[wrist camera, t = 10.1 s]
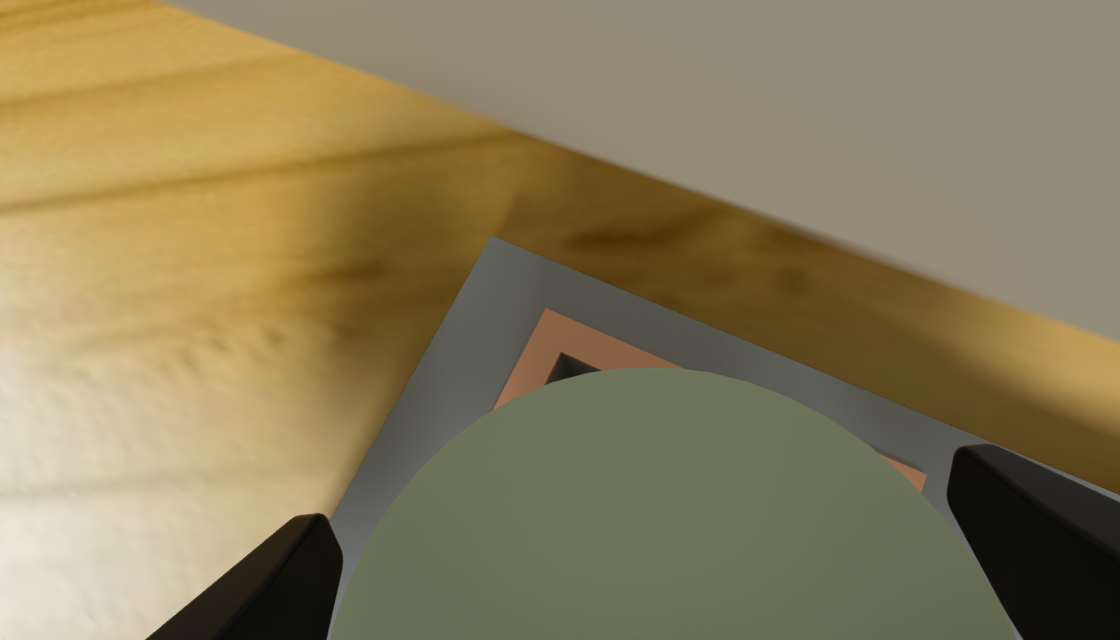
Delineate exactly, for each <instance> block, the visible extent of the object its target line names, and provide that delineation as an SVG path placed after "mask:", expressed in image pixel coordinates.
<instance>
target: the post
mask: <svg viewBox="0 0 1120 640" xmlns="http://www.w3.org/2000/svg"><path fill="white" fill-rule="evenodd" d="M330 640H1017V638H1016V636H1015V634H1014V632H1013V629H1012V627H1011V625H1010V623H1009V621H1008V618H1007V616H1006V614H1005V612H1004V610H1003V607H1002V605H1001V603H1000V602H999V600H998V598H997V597H996V595H995V593H994V592H993V590H992V588H991V587H990V585H989V583H988V582H987V580H986V578H985V576H984V575H983V573H982V571H981V570H980V568H979V566H978V565H977V563H976V561H975V560H974V558H973V556H972V555H971V554H970V552H969V551H968V550H967V548H966V547H965V546H964V544H963V543H962V542H961V540H960V539H959V538H958V536H957V535H956V534H955V532H954V531H953V530H952V528H951V527H950V526H949V524H948V523H947V522H946V520H945V519H944V518H943V516H942V515H941V514H940V513H939V512H938V511H937V510H936V509H935V507H934V506H933V505H932V504H931V503H930V502H929V501H928V500H927V499H926V498H925V497H924V496H923V495H922V494H921V493H920V491H919V490H918V489H917V488H916V487H915V486H914V485H913V484H912V483H911V482H910V481H909V480H908V479H907V478H906V477H905V476H904V475H903V474H902V473H901V472H900V471H898V470H897V469H896V468H895V467H894V466H893V465H891V464H890V463H889V462H888V461H887V460H886V459H884V458H883V457H882V456H881V455H880V454H879V453H877V452H876V451H875V450H874V449H873V448H872V447H870V446H869V445H868V444H866V443H865V442H864V441H862V440H861V439H859V438H858V437H856V436H855V435H853V434H852V433H850V432H849V431H847V430H846V429H844V428H843V427H841V426H840V425H838V424H837V423H836V422H834V421H833V420H831V419H830V418H828V417H826V416H824V415H822V414H820V413H818V412H816V411H814V410H812V409H810V408H809V407H807V406H805V405H803V404H801V403H799V402H797V401H795V400H793V399H791V398H789V397H787V396H784V395H781V394H779V393H776V392H774V391H771V390H768V389H766V388H763V387H760V386H758V385H755V384H753V383H750V382H746V381H742V380H738V379H734V378H730V377H726V376H722V375H718V374H714V373H710V372H704V371H696V370H687V369H679V368H671V367H627V368H620V369H612V370H605V371H597V372H590V373H586V374H582V375H578V376H575V377H571V378H567V379H563V380H560V381H556V382H552V383H550V384H547V385H545V386H542V387H540V388H537V389H535V390H532V391H530V392H527V393H525V394H523V395H520V396H518V397H515V398H514V399H512V400H510V401H508V402H507V403H505V404H503V405H501V406H500V407H498V408H496V409H494V410H492V411H491V412H489V413H487V414H485V415H484V416H482V417H480V418H479V419H478V420H476V421H475V422H474V423H472V424H471V425H470V426H468V427H467V428H466V429H464V430H463V431H462V432H460V433H459V434H458V435H456V436H455V437H454V438H452V439H451V440H450V441H449V442H448V443H447V444H445V445H444V446H443V447H442V448H441V449H440V450H439V451H438V452H437V453H436V454H435V455H434V456H433V457H432V458H431V459H430V460H429V461H428V462H427V463H426V464H425V465H423V466H422V467H421V468H420V470H419V471H418V472H417V473H416V474H415V476H414V477H413V478H412V479H411V480H410V482H409V483H408V484H407V485H406V487H405V488H404V489H403V490H402V491H401V493H400V494H399V495H398V496H397V497H396V499H395V500H394V501H393V503H392V504H391V506H390V507H389V509H388V510H387V512H386V514H385V515H384V517H383V518H382V520H381V521H380V523H379V524H378V526H377V528H376V529H375V531H374V532H373V534H372V535H371V537H370V539H369V541H368V543H367V545H366V547H365V549H364V551H363V553H362V555H361V557H360V559H359V561H358V563H357V565H356V567H355V569H354V571H353V573H352V575H351V577H350V580H349V583H348V585H347V588H346V591H345V594H344V596H343V599H342V602H341V605H340V607H339V610H338V613H337V616H336V618H335V621H334V625H333V629H332V633H331V637H330Z"/></svg>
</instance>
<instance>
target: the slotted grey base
mask: <svg viewBox="0 0 1120 640" xmlns="http://www.w3.org/2000/svg"><path fill="white" fill-rule="evenodd" d="M627 367H671V368H679V369H687V370H696V371H704V372H710V373H714V374H718V375H722V376H726V377H730V378H734V379H738V380H742V381H746V382H750V383H753V384H755V385H758V386H760V387H763V388H766V389H768V390H771V391H774V392H776V393H779V394H781V395H784V396H787V397H789V398H791V399H793V400H795V401H797V402H799V403H801V404H803V405H805V406H807V407H809V408H810V409H812V410H814V411H816V412H818V413H820V414H822V415H824V416H826V417H828V418H830V419H831V420H833V421H834V422H836V423H837V424H838V425H840V426H841V427H843V428H844V429H846V430H847V431H849V432H850V433H852V434H853V435H855V436H856V437H858V438H859V439H861V440H862V441H864V442H865V443H866V444H868V445H869V446H870V447H872V448H873V449H874V450H875V451H876V452H877V453H879V454H880V455H881V456H882V457H883V458H884V459H886V460H887V461H888V462H889V463H890V464H891V465H893V466H894V467H895V468H896V469H897V470H898V471H900V472H901V473H902V474H903V475H904V476H905V477H906V478H907V479H908V480H909V481H910V482H911V483H912V484H913V485H914V486H915V487H916V488H917V489H918V490H919V491H920V493H921V494H922V495H923V496H924V497H925V498H926V499H927V500H928V501H929V502H930V503H931V504H932V505H933V506H934V507H935V509H936V510H937V511H938V512H939V513H940V514H941V515H942V516H943V518H944V519H945V520H946V522H947V523H948V524H949V526H950V527H951V528H952V530H953V531H954V532H955V534H956V535H957V536H958V538H959V539H960V540H961V542H962V543H963V544H964V546H965V547H966V548H967V550H968V551H969V552H970V554H971V555H972V556H973V558H974V560H975V561H976V563H977V565H978V566H979V568H980V570H981V571H982V573H983V575H984V576H985V578H986V580H987V582H988V583H989V581H988V579H987V577H986V575H985V573H984V571H983V570H982V568H981V566H980V564H979V562H978V560H977V558H976V557H975V555H974V553H973V551H972V549H971V547H970V545H969V543H968V542H967V540H966V538H965V536H964V534H963V532H962V530H961V529H960V527H959V525H958V523H957V521H956V519H955V517H954V515H953V514H952V512H951V510H950V507H949V505H948V501H947V485H948V480H949V475H950V470H951V465H952V459H953V455H954V452H955V451H956V449H957V448H958V447H961V446H965V445H975V444H985V443H987V444H994V445H996V446H999V447H1001V448H1003V449H1006V450H1008V451H1010V452H1012V453H1014V454H1017V455H1019V456H1021V457H1023V458H1025V459H1027V460H1030V461H1032V462H1034V463H1036V464H1038V465H1041V466H1043V467H1045V468H1047V469H1049V470H1051V471H1054V472H1056V473H1058V474H1060V475H1062V476H1065V477H1067V478H1069V479H1071V480H1073V481H1076V482H1078V483H1080V484H1082V485H1084V486H1086V487H1089V488H1091V489H1093V490H1095V491H1097V492H1100V493H1102V494H1104V495H1106V496H1108V497H1110V498H1113V499H1115V500H1117V501H1119V502H1120V495H1118V494H1116V493H1113V492H1111V491H1108V490H1106V489H1104V488H1101V487H1099V486H1096V485H1094V484H1092V483H1089V482H1087V481H1084V480H1082V479H1079V478H1077V477H1075V476H1072V475H1070V474H1067V473H1065V472H1063V471H1060V470H1058V469H1055V468H1053V467H1050V466H1048V465H1046V464H1043V463H1041V462H1038V461H1036V460H1033V459H1031V458H1029V457H1026V456H1024V455H1021V454H1019V453H1017V452H1014V451H1012V450H1009V449H1007V448H1004V447H1002V446H1000V445H997V444H995V443H992V442H990V441H988V440H985V439H983V438H980V437H978V436H975V435H973V434H971V433H968V432H966V431H963V430H961V429H958V428H956V427H954V426H951V425H949V424H946V423H944V422H942V421H939V420H937V419H934V418H932V417H929V416H927V415H925V414H922V413H920V412H917V411H915V410H913V409H910V408H908V407H905V406H903V405H900V404H898V403H896V402H893V401H891V400H888V399H886V398H883V397H881V396H879V395H876V394H874V393H871V392H869V391H867V390H864V389H862V388H859V387H857V386H854V385H852V384H850V383H847V382H845V381H842V380H840V379H838V378H835V377H833V376H830V375H828V374H825V373H823V372H821V371H818V370H816V369H813V368H811V367H808V366H806V365H804V364H801V363H799V362H796V361H794V360H792V359H789V358H787V357H784V356H782V355H779V354H777V353H775V352H772V351H770V350H767V349H765V348H763V347H760V346H758V345H755V344H753V343H750V342H748V341H746V340H743V339H741V338H738V337H736V336H733V335H731V334H729V333H726V332H724V331H721V330H719V329H717V328H714V327H712V326H709V325H707V324H704V323H702V322H700V321H697V320H695V319H692V318H690V317H688V316H685V315H683V314H680V313H678V312H675V311H673V310H671V309H668V308H666V307H663V306H661V305H659V304H656V303H654V302H651V301H649V300H646V299H644V298H642V297H639V296H637V295H634V294H632V293H629V292H627V291H625V290H622V289H620V288H617V287H615V286H613V285H610V284H608V283H605V282H603V281H600V280H598V279H596V278H593V277H591V276H588V275H586V274H584V273H581V272H579V271H576V270H574V269H571V268H569V267H567V266H564V265H562V264H559V263H557V262H554V261H552V260H550V259H547V258H545V257H542V256H540V255H538V254H535V253H533V252H530V251H528V250H525V249H523V248H521V247H518V246H516V245H513V244H511V243H509V242H506V241H504V240H501V239H499V238H496V237H494V236H492V235H491V237H490V238H489V240H488V242H487V244H486V245H485V247H484V249H483V251H482V253H481V254H480V256H479V258H478V260H477V261H476V263H475V265H474V267H473V268H472V270H471V272H470V274H469V275H468V277H467V279H466V281H465V283H464V284H463V286H462V288H461V290H460V291H459V293H458V295H457V297H456V298H455V300H454V302H453V304H452V305H451V307H450V309H449V311H448V313H447V314H446V316H445V318H444V320H443V321H442V323H441V325H440V327H439V328H438V330H437V332H436V334H435V335H434V337H433V339H432V341H431V343H430V344H429V346H428V348H427V350H426V351H425V353H424V355H423V357H422V358H421V360H420V362H419V364H418V365H417V367H416V369H415V371H414V373H413V374H412V376H411V378H410V380H409V381H408V383H407V385H406V387H405V388H404V390H403V392H402V394H401V395H400V397H399V399H398V401H397V403H396V404H395V406H394V408H393V410H392V411H391V413H390V415H389V417H388V418H387V420H386V422H385V424H384V425H383V427H382V429H381V431H380V433H379V434H378V436H377V438H376V440H375V441H374V443H373V445H372V447H371V448H370V450H369V452H368V454H367V455H366V457H365V459H364V461H363V463H362V464H361V466H360V468H359V470H358V471H357V473H356V475H355V477H354V478H353V480H352V482H351V484H350V485H349V487H348V489H347V491H346V493H345V494H344V496H343V498H342V500H341V501H340V503H339V505H338V507H337V508H336V510H335V512H334V514H333V515H332V517H331V519H330V521H329V523H330V525H331V527H332V529H333V532H334V534H335V536H336V538H337V540H338V543H339V545H340V547H341V549H342V553H343V570H342V574H341V579H340V583H339V588H338V592H337V597H336V601H335V605H334V610H333V614H332V619H331V623H330V628H329V632H328V637H327V640H330V637H331V633H332V629H333V625H334V621H335V618H336V616H337V613H338V610H339V607H340V605H341V602H342V599H343V596H344V594H345V591H346V588H347V585H348V583H349V580H350V577H351V575H352V573H353V571H354V569H355V567H356V565H357V563H358V561H359V559H360V557H361V555H362V553H363V551H364V549H365V547H366V545H367V543H368V541H369V539H370V537H371V535H372V534H373V532H374V531H375V529H376V528H377V526H378V524H379V523H380V521H381V520H382V518H383V517H384V515H385V514H386V512H387V510H388V509H389V507H390V506H391V504H392V503H393V501H394V500H395V499H396V497H397V496H398V495H399V494H400V493H401V491H402V490H403V489H404V488H405V487H406V485H407V484H408V483H409V482H410V480H411V479H412V478H413V477H414V476H415V474H416V473H417V472H418V471H419V470H420V468H421V467H422V466H423V465H425V464H426V463H427V462H428V461H429V460H430V459H431V458H432V457H433V456H434V455H435V454H436V453H437V452H438V451H439V450H440V449H441V448H442V447H443V446H444V445H445V444H447V443H448V442H449V441H450V440H451V439H452V438H454V437H455V436H456V435H458V434H459V433H460V432H462V431H463V430H464V429H466V428H467V427H468V426H470V425H471V424H472V423H474V422H475V421H476V420H478V419H479V418H480V417H482V416H484V415H485V414H487V413H489V412H491V411H492V410H494V409H496V408H498V407H500V406H501V405H503V404H505V403H507V402H508V401H510V400H512V399H514V398H515V397H518V396H520V395H523V394H525V393H527V392H530V391H532V390H535V389H537V388H540V387H542V386H545V385H547V384H550V383H552V382H556V381H560V380H563V379H567V378H571V377H575V376H578V375H582V374H586V373H590V372H597V371H605V370H612V369H620V368H627ZM989 585H990V583H989ZM990 587H991V588H992V586H991V585H990ZM992 590H993V588H992ZM993 592H994V590H993ZM994 593H995V592H994ZM995 595H996V594H995ZM996 597H997V596H996ZM998 600H999V599H998ZM999 602H1000V601H999ZM1002 607H1003V606H1002ZM1003 610H1004V608H1003ZM1004 612H1005V610H1004ZM1005 614H1006V616H1007V618H1008V621H1009V623H1010V625H1011V627H1012V629H1013V632H1014V634H1015V636H1016V638H1017V640H1023V639H1022V637H1021V636H1020V634H1019V633H1018V631H1017V630H1016V628H1015V626H1014V625H1013V623H1012V622H1011V620H1010V619H1009V617H1008V615H1007V613H1006V612H1005Z"/></svg>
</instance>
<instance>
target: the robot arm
mask: <svg viewBox="0 0 1120 640" xmlns="http://www.w3.org/2000/svg"><path fill="white" fill-rule="evenodd" d="M947 501H948V505H949V507H950V510H951V512H952V514H953V515H954V517H955V519H956V521H957V523H958V525H959V527H960V529H961V530H962V532H963V534H964V536H965V538H966V540H967V542H968V543H969V545H970V547H971V549H972V551H973V553H974V555H975V557H976V558H977V560H978V562H979V564H980V566H981V568H982V570H983V571H984V573H985V575H986V577H987V579H988V581H989V583H990V585H991V586H992V588H993V590H994V592H995V594H996V596H997V598H998V599H999V601H1000V603H1001V605H1002V606H1003V608H1004V610H1005V612H1006V613H1007V615H1008V617H1009V619H1010V620H1011V622H1012V623H1013V625H1014V626H1015V628H1016V630H1017V631H1018V633H1019V634H1020V636H1021V637H1022V639H1023V640H1120V502H1119V501H1117V500H1115V499H1113V498H1110V497H1108V496H1106V495H1104V494H1102V493H1100V492H1097V491H1095V490H1093V489H1091V488H1089V487H1086V486H1084V485H1082V484H1080V483H1078V482H1076V481H1073V480H1071V479H1069V478H1067V477H1065V476H1062V475H1060V474H1058V473H1056V472H1054V471H1051V470H1049V469H1047V468H1045V467H1043V466H1041V465H1038V464H1036V463H1034V462H1032V461H1030V460H1027V459H1025V458H1023V457H1021V456H1019V455H1017V454H1014V453H1012V452H1010V451H1008V450H1006V449H1003V448H1001V447H999V446H996V445H994V444H987V443H985V444H975V445H965V446H961V447H958V448H957V449H956V451H955V452H954V455H953V459H952V465H951V470H950V475H949V480H948V485H947ZM342 570H343V553H342V549H341V547H340V545H339V543H338V540H337V538H336V536H335V534H334V532H333V529H332V527H331V525H330V523H329V521H328V519H327V517H326V516H325V515H323V514H320V513H315V514H306V515H299V516H295V517H293V518H292V519H291V520H289V521H288V522H287V523H286V524H284V525H283V526H282V527H281V528H280V529H278V530H277V531H276V532H275V533H274V534H272V535H271V536H270V537H269V538H267V539H266V540H265V541H264V542H263V543H261V544H260V545H259V546H258V547H257V548H255V549H254V550H253V551H252V552H251V553H249V554H248V555H247V556H246V557H245V558H243V559H242V560H241V561H240V562H238V563H237V564H236V565H235V566H234V567H232V568H231V569H230V570H229V571H228V572H226V573H225V574H224V575H223V576H222V577H220V578H219V579H218V580H217V581H215V582H214V583H213V584H212V585H211V586H209V587H208V588H207V589H206V590H205V591H203V592H202V593H201V594H200V595H199V596H197V597H196V598H195V599H194V600H192V601H191V602H190V603H189V604H188V605H186V606H185V607H184V608H183V609H182V610H180V611H179V612H178V613H177V614H176V615H174V616H173V617H172V618H171V619H169V620H168V621H167V622H166V623H165V624H163V625H162V626H161V627H160V628H159V629H157V630H156V631H155V632H154V633H153V634H151V635H150V636H149V637H148V638H146V639H145V640H327V637H328V632H329V628H330V623H331V619H332V614H333V610H334V605H335V601H336V597H337V592H338V588H339V583H340V579H341V574H342Z"/></svg>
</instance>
